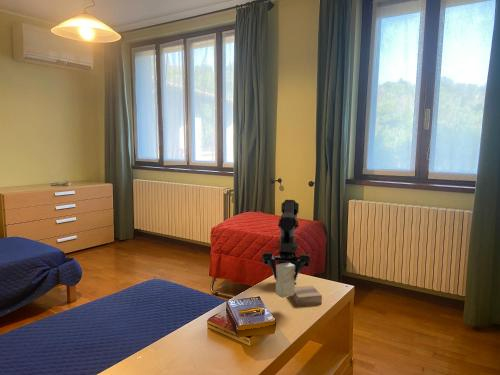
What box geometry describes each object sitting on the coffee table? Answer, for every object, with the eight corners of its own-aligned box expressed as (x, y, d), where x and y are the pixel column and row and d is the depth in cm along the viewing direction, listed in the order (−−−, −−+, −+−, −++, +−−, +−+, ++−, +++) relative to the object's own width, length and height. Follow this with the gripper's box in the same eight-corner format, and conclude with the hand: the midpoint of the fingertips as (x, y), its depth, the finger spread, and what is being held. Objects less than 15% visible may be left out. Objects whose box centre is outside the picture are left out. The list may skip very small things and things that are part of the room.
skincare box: (281, 298, 145) (282, 268, 143) (275, 294, 149) (275, 264, 147) (294, 294, 148) (295, 265, 147) (287, 290, 152) (288, 261, 150)
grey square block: (290, 296, 163) (290, 287, 162) (312, 294, 165) (312, 285, 165) (298, 306, 153) (298, 297, 153) (321, 304, 155) (321, 295, 155)
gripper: (263, 232, 150) (259, 269, 141) (310, 235, 148) (310, 272, 138) (264, 246, 159) (261, 281, 150) (309, 248, 157) (309, 284, 147)
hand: (285, 279), depth 146 cm, fingers closed on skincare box, 7 cm apart
